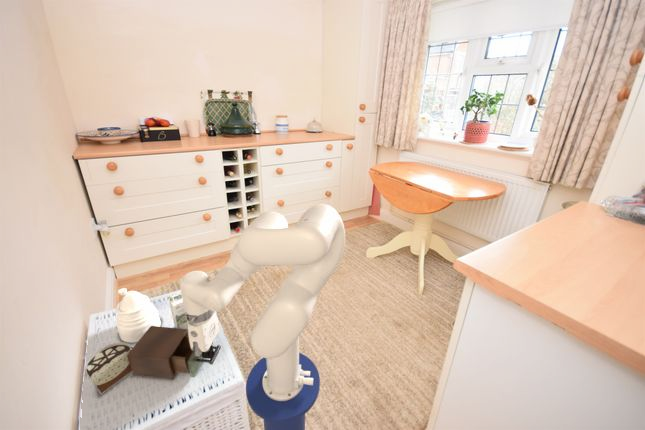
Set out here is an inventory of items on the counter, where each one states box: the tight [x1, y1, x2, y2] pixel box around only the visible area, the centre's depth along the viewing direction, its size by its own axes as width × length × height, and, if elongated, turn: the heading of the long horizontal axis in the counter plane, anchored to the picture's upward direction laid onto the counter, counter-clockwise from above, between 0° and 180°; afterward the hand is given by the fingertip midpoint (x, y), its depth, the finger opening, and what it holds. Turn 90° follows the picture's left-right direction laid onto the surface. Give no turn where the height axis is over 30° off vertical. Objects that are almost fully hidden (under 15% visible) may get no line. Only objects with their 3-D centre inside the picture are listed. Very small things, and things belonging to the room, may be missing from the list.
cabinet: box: [127, 326, 188, 380], centre depth 93 cm, size 13×12×9 cm
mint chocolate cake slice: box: [84, 342, 134, 395], centre depth 87 cm, size 12×6×10 cm, turn 149°
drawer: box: [170, 335, 222, 378], centre depth 92 cm, size 17×10×7 cm, turn 85°
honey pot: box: [115, 287, 162, 344], centre depth 103 cm, size 13×13×18 cm
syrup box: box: [168, 292, 188, 329], centre depth 104 cm, size 6×6×14 cm
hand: (208, 356), depth 92 cm, fingers closed
